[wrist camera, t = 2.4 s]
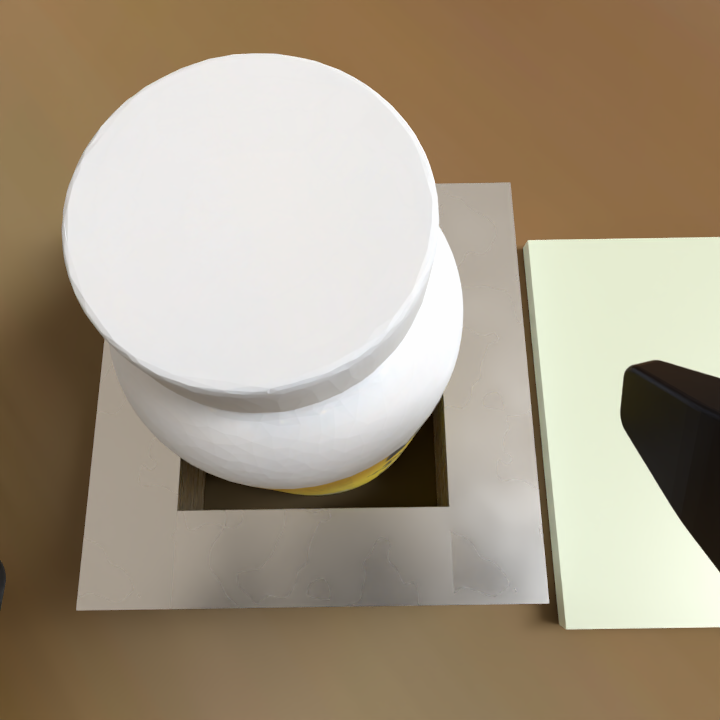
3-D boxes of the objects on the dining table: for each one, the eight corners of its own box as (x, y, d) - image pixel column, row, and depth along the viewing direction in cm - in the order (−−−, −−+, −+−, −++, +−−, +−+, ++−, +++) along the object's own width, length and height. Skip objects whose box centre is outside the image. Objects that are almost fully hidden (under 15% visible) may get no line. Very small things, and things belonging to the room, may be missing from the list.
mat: (832, 620, 16) (850, 625, 16) (558, 624, 16) (566, 629, 16) (754, 244, 19) (766, 236, 19) (523, 248, 19) (528, 240, 19)
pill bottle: (359, 535, 17) (353, 602, 6) (182, 433, 18) (-135, 312, 6) (454, 354, 18) (601, 118, 7) (286, 267, 19) (175, -69, 8)
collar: (521, 588, 16) (549, 603, 14) (118, 594, 16) (76, 610, 14) (492, 222, 19) (510, 182, 17) (150, 228, 19) (120, 188, 17)
